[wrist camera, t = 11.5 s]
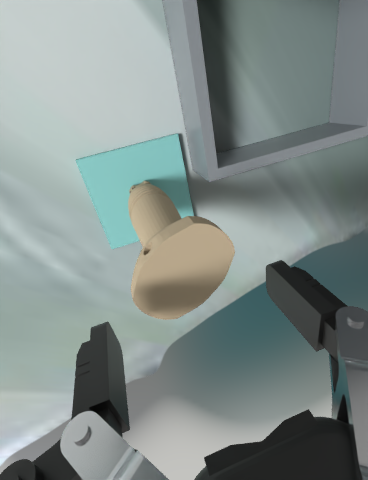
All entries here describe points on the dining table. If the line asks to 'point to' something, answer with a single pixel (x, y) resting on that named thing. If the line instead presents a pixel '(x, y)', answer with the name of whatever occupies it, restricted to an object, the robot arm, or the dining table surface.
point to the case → (286, 146)
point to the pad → (134, 182)
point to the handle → (174, 255)
